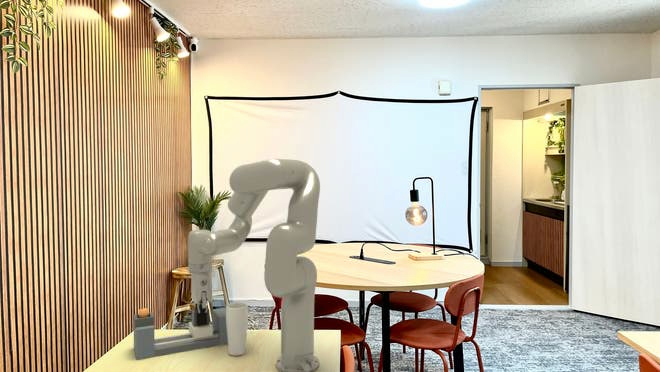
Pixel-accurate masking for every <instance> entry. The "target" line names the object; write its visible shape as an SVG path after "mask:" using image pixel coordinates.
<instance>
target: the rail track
mask: <svg viewBox="0 0 660 372" xmlns="http://www.w3.org/2000/svg"><path fill="white" fill-rule="evenodd" d="M211 312H212V313H211V314H212V316H211V317H212V318H211V319H212V321H211V322H212V323H211V325H212V326H213V336H208V337H202V338H196V339H194V338H193V337H192V335H191V334H190V332H188V333H187V332H186V333H182V334H181V333H180V334H176V335H175V334H174V335H169V336H162V337H156V338H155V317H154V314H153V312H152V311H151V312H149V317H145V318H139V313H137V314H136V313H135V314H133V351H134V354H135V359H136V361H139V360H143V359H149V358H154V357H160V356H161V357H162V356H167V355H171V354H177V353H178V354H179V353H182V352H188V351H195V350H199V349H206V348H211V347H216V346H224V345H228V339H227V328H226V307H222V308H221V307H220V308H215V309H214V308H213V309H212V311H211Z"/></svg>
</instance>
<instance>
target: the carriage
mask: <svg viewBox="0 0 660 372" xmlns="http://www.w3.org/2000/svg"><path fill="white" fill-rule="evenodd" d="M197 313H198V308H197V309H194V308H192V309H191V321H189V322H188V333H190V334H191V335H192V337H193V338H194V339H196V338H202V337H208V336H213V326H212V323H211V322H210V309H209V308H208V307H207V324H206V325H200V326H197Z"/></svg>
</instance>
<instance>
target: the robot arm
mask: <svg viewBox="0 0 660 372" xmlns="http://www.w3.org/2000/svg"><path fill="white" fill-rule="evenodd" d="M232 170H233V171H232V172H231V173H230V177H229V179H228V180H229V186H230V189H231V191H233V193H232V195H231V197H230V198H229V199H228V201H227V208H228V210H229V211H230V212H231V213H232V214H233V215H234V219H233V221H232V223H231V224H230V225H229V227H228V228H227V229H222V230H221V229H220V230H216V231H211V230H208V229H193V230H191V231H190V232H189V233H188V241H187V243H188V245H187V246H188V247H187V248H188V251H187V252H188V253H187V254H188V255H187V256H188V258H187V259H188V260H187V261H188V265H187V266H188V274H189V275H191V280H190V285H191V288H190V289H191V290H190V291H191V292H190V293H191V299H192V300H193V302H194V303H193V304H194V308H193V309H197V308H198V313H197V326H200V325H206V324H207V308H208V305H207V304H212V303H213V295H212V294H213V293H212V292H213V290H212V277H211V273H212V272H213V257H215V256H218V255H220V256H221V255H223V254H227V253H231V252H234V251H237V250H238V249H239V248H240V247H241V246H242V245H243V243H244V242H245V241H246V239H247V237H248V236H249V235H250V233H251V229H252V225H253V224H252V223H253V215H254V214H255V212H256V210H257V209H258V207H259V206H260V204H262V203H261V202H262V201H263V200H264V198H265V196H266V195H267V193H268V192H269V191H275V190H288V189H289V190H293V191H292V195H291V196H290V199H289V201H288V207H287V218H286V222H281V223H279V224H278V223H277V224H276V225H275V226H274V227H273V228H272V229H271V230H270V232H269V234H268V236H267V240H266V246H265V247H266V249H265V262H264V274H263V277H264V278H263V279H264V285H265V287H266V289H267V291H268V293H269V294H270V295H271V296H274V297H275V298H281V304H280V305H281V306H280V307H281V308H280V310H281V311H280V341H281V342H280V355H281V356H279V357H278V358H276V361H275V367H276V368H277V370H278V371H280V372H314V371H315V370H317V369H318V368H319V366H320V360H319V358H318V357H317V356H316V355H315V329H314V328H315V293H316V288H317V287H316V286H317V281H318V271H317V267H316V265H315V263H314V262H313V260H312V259H310V258H308V257H307V256H302V254H305V253H307V252H309V251H310V250H312V249H313V248H314V246H315V243H316V239H317V238H316V236H317V227H318V224H317V223H318V209H319V199H320V193H321V182H320V178H319V175H318V173H317V172H316V170H315V168H314V167H312V166H311V165H310V164H309V163H307V162H305V161H302V160H299V159H291V158H290V159H286V158H285V159H284V158H271V159H270V158H269V159H266V160H265V159H264V160H261V161H260V160H259V161H256V162H252V163H247V164H242V165H239V166H237V167H236V168H234V169H232ZM298 255H301V256H298Z"/></svg>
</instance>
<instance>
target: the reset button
mask: <svg viewBox="0 0 660 372" xmlns="http://www.w3.org/2000/svg"><path fill="white" fill-rule="evenodd" d="M149 313H150V312H149V308H148V307H144V308H140V309H138V314H139V318H145V317H149Z"/></svg>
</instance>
